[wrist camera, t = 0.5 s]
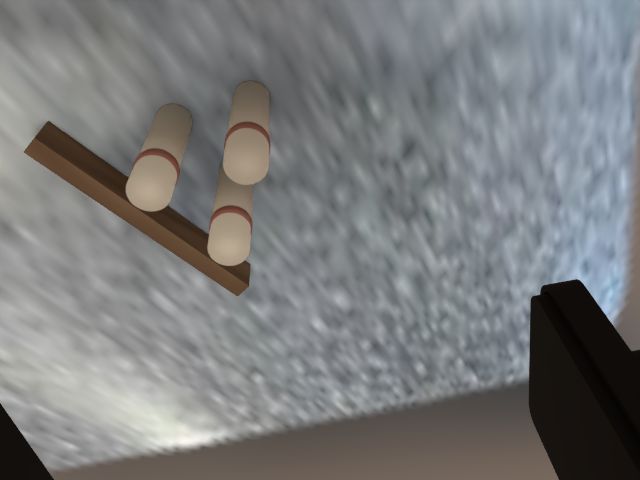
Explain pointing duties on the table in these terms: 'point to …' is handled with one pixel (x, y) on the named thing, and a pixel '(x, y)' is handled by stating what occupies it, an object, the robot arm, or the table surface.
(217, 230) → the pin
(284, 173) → the table surface
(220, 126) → the table surface
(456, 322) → the table surface
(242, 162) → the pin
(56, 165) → the walnut rail
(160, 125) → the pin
